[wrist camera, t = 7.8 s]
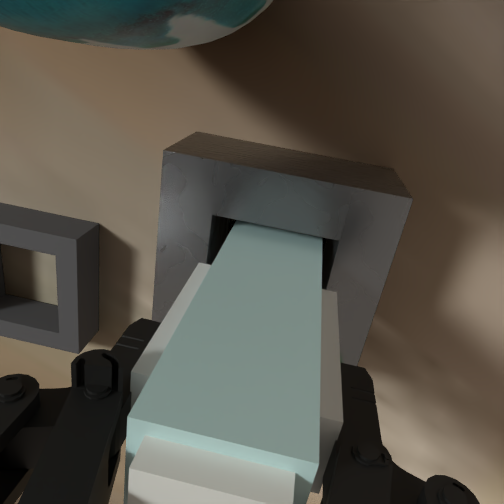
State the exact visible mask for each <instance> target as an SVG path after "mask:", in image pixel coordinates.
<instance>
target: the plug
mask: <svg viewBox="0 0 504 504" xmlns="http://www.w3.org/2000/svg"><path fill="white" fill-rule="evenodd" d="M321 301H322V238H321V237H316V236H312V235H307V234H302V233H297V232H292V231H287V230H283V229H278V228H273V227H268V226H263V225H258V224H254V223H249V222H244V221H239V220H236V222H235V224H234V226H233V227H232V229H231V231H230V233H229V235H228V236H227V238H226V240H225V242H224V244H223V245H222V247H221V249H220V251H219V253H218V254H217V256H216V258H215V260H214V262H213V263H212V265H211V267H210V269H209V271H208V272H207V274H206V276H205V278H204V280H203V281H202V283H201V285H200V287H199V289H198V290H197V292H196V294H195V296H194V298H193V299H192V301H191V303H190V305H189V307H188V308H187V310H186V312H185V314H184V316H183V317H182V319H181V321H180V323H179V325H178V326H177V328H176V330H175V332H174V334H173V335H172V337H171V339H170V341H169V343H168V344H167V346H166V348H165V350H164V352H163V353H162V355H161V357H160V359H159V361H158V362H157V364H156V366H155V368H154V370H153V371H152V373H151V375H150V377H149V379H148V380H147V382H146V384H145V386H144V388H143V389H142V391H141V393H140V395H139V397H138V398H137V400H136V402H135V404H134V406H133V407H132V409H131V411H130V413H129V415H128V416H127V437H126V461H125V485H124V504H306V502H307V499H308V496H309V493H310V490H311V487H312V484H313V481H314V478H315V475H316V472H317V469H318V466H319V437H320V369H321Z"/></svg>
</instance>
